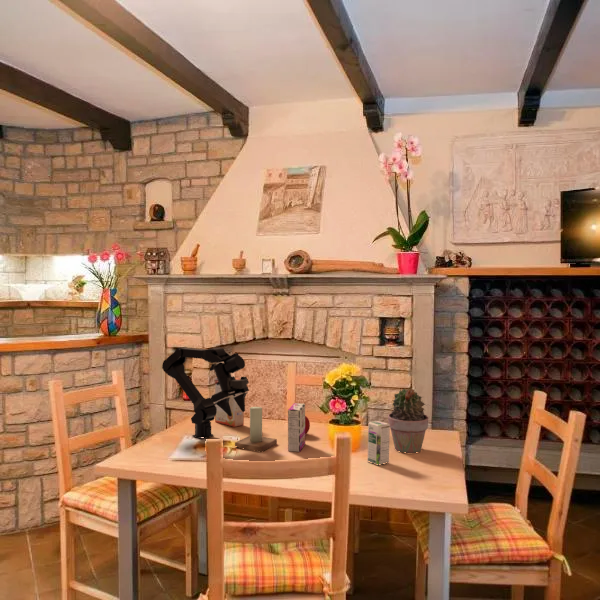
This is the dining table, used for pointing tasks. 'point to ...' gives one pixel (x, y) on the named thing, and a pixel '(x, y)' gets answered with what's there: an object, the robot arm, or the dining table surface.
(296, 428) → the candy bar box
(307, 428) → the apple
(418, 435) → the potted plant
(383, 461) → the syrup box
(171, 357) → the robot arm
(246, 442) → the brown flat square slab
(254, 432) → the green blank
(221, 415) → the cracker box
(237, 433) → the dining table surface
